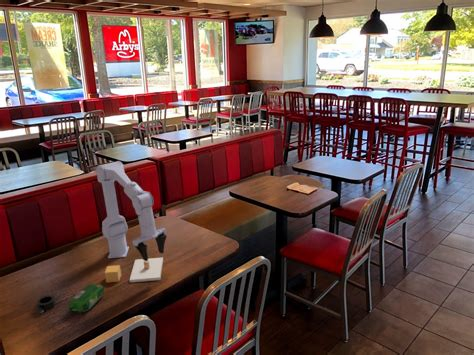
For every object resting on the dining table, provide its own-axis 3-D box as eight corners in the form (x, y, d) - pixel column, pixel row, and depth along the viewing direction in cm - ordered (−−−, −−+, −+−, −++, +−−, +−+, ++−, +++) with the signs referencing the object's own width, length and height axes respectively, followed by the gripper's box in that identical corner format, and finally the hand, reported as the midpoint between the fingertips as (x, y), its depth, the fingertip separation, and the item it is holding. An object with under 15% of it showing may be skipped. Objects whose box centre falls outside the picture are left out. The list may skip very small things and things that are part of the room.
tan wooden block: (108, 275, 158) (107, 266, 157) (121, 274, 158) (119, 265, 157) (106, 282, 153) (104, 272, 152) (119, 281, 154) (117, 271, 152)
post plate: (135, 262, 168) (134, 253, 167) (163, 259, 169) (162, 251, 168) (129, 282, 153) (128, 273, 151) (160, 279, 154) (159, 270, 153)
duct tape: (28, 310, 138) (26, 303, 137) (54, 296, 146) (53, 289, 145) (39, 318, 134) (37, 310, 133) (65, 303, 141) (64, 296, 141)
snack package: (65, 316, 134) (63, 304, 132) (92, 290, 148) (90, 279, 147) (83, 319, 132) (81, 307, 131) (108, 293, 147) (106, 281, 145)
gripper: (137, 231, 141) (144, 265, 143) (168, 219, 151) (174, 251, 154) (126, 229, 145) (133, 262, 148) (157, 217, 156) (163, 248, 158)
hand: (153, 256), depth 151 cm, fingers open, 7 cm apart
